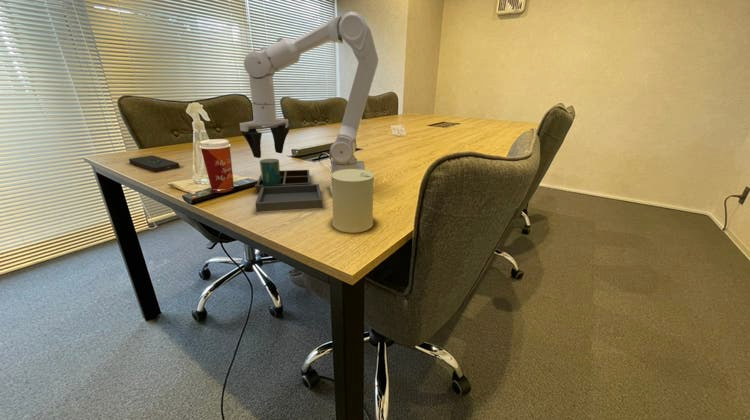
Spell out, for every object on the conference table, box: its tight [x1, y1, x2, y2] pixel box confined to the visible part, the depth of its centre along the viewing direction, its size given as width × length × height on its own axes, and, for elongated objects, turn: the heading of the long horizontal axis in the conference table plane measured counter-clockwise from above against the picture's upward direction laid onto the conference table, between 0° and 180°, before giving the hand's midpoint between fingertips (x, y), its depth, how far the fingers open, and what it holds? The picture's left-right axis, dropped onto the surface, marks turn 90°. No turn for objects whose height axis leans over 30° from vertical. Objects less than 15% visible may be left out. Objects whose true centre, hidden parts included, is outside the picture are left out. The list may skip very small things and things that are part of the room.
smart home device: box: [128, 154, 181, 173], centre depth 109 cm, size 8×2×20 cm
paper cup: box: [198, 138, 235, 194], centre depth 84 cm, size 8×8×14 cm
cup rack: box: [255, 169, 311, 194], centre depth 92 cm, size 15×15×2 cm
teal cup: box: [259, 158, 281, 185], centre depth 87 cm, size 5×5×8 cm
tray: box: [255, 183, 323, 213], centre depth 79 cm, size 16×13×2 cm
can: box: [330, 169, 375, 234], centre depth 66 cm, size 9×9×12 cm
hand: (268, 154), depth 85 cm, fingers open, 7 cm apart
